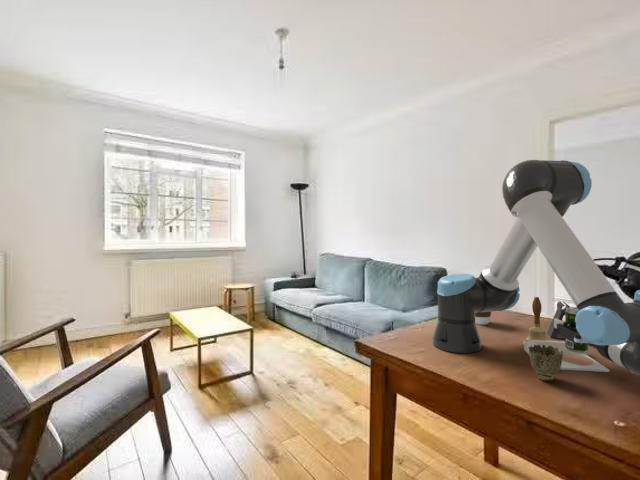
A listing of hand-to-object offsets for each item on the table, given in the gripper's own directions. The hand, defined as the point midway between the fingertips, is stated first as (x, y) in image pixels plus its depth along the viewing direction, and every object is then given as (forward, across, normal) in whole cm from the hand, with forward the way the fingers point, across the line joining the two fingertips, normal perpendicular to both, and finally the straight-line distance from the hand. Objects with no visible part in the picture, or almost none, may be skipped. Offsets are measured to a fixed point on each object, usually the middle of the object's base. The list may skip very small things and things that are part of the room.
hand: (566, 322), depth 105 cm
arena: (-4, -3, -10) cm, 11 cm away
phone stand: (+18, +9, -10) cm, 22 cm away
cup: (-17, -14, -10) cm, 25 cm away
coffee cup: (+35, -14, -10) cm, 39 cm away
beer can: (-5, 0, -7) cm, 8 cm away
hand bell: (+9, -4, -10) cm, 14 cm away
